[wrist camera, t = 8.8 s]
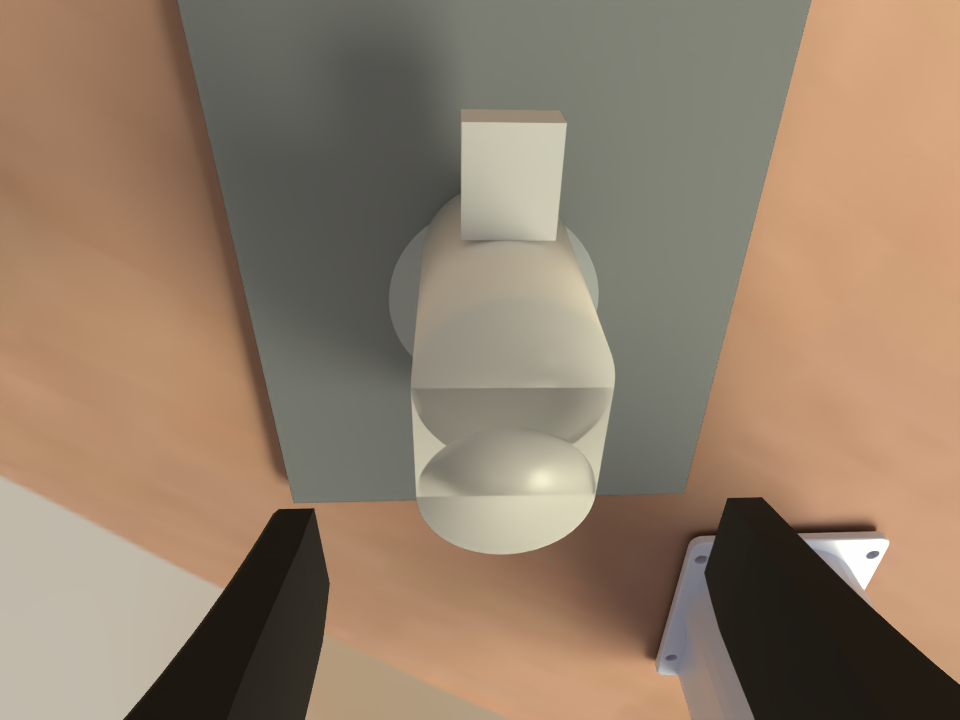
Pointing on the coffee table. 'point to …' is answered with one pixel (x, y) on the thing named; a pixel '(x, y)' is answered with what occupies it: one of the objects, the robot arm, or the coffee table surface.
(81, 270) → the coffee table surface
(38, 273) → the coffee table surface
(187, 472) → the coffee table surface
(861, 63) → the coffee table surface
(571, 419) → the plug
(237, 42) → the mat
